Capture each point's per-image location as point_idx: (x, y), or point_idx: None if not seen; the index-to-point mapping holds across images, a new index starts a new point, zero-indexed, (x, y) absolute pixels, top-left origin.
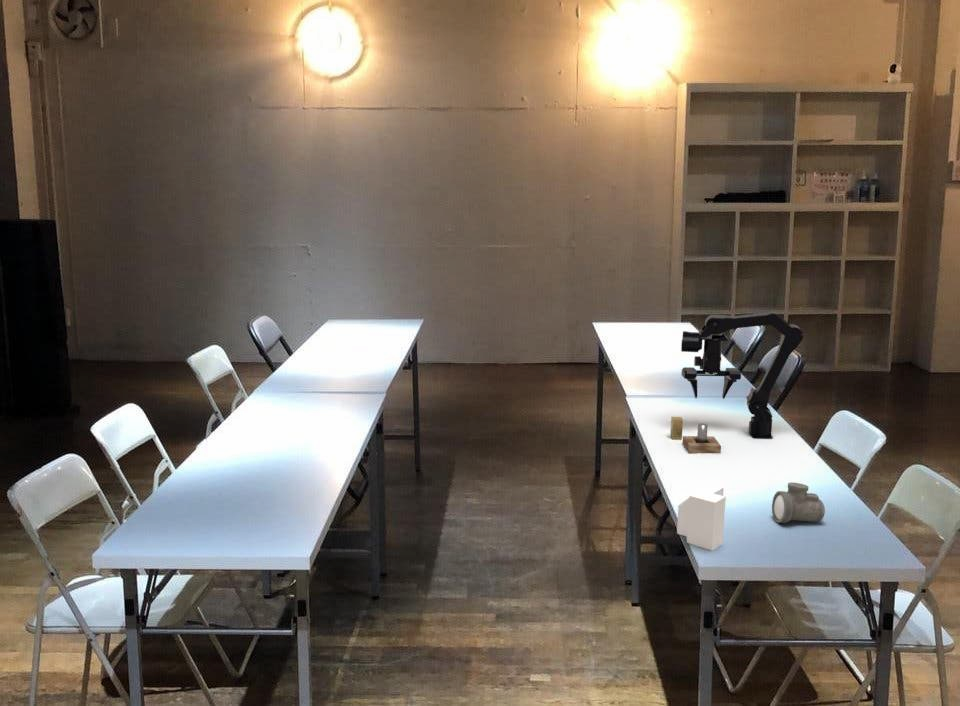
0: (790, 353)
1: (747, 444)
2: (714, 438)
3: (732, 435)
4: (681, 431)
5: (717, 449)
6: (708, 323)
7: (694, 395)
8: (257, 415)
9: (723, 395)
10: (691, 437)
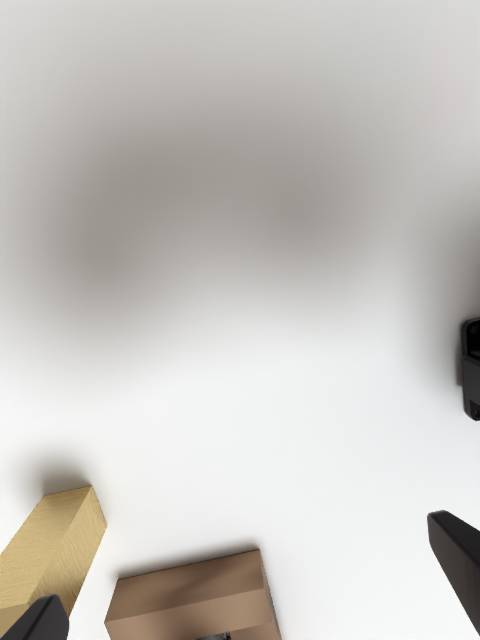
0: None
1: (416, 511)
2: (266, 615)
3: (364, 389)
4: (85, 569)
5: None
6: None
7: (11, 637)
8: None
9: (466, 607)
10: (149, 630)
